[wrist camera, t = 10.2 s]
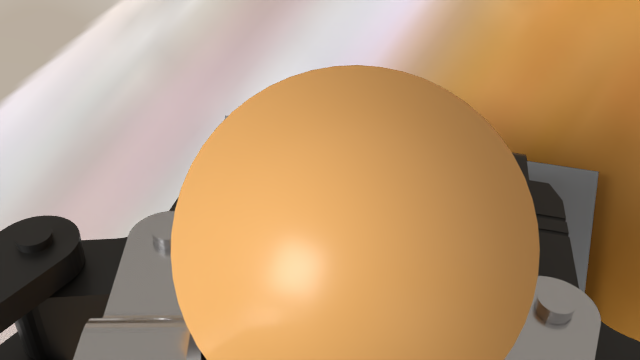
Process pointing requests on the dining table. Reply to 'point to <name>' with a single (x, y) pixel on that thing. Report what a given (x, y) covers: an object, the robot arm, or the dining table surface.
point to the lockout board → (572, 206)
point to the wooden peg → (355, 226)
